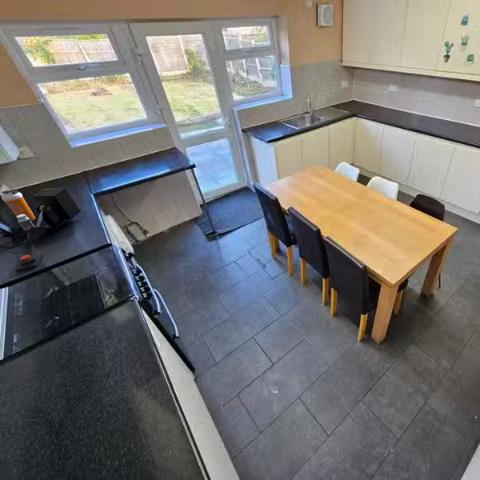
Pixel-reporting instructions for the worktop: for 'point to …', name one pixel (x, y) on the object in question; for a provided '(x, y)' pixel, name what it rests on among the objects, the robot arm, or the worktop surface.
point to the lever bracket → (50, 217)
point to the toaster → (58, 202)
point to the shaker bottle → (17, 203)
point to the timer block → (30, 262)
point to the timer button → (25, 258)
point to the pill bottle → (25, 222)
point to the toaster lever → (39, 220)
